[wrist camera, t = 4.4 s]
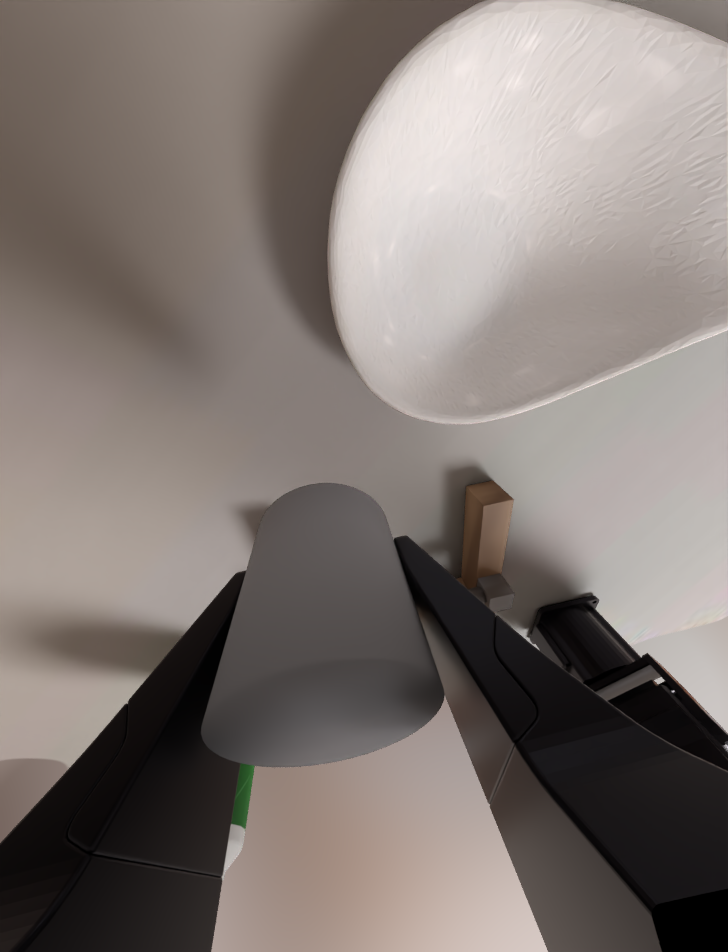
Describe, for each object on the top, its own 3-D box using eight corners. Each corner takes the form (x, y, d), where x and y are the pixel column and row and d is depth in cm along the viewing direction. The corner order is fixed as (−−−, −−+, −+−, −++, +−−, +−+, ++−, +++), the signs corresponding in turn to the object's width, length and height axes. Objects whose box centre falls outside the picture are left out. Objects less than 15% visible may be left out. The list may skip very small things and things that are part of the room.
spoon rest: (348, 421, 16) (366, 485, 10) (295, 114, 10) (254, -230, 4) (715, 354, 17) (938, 373, 11) (868, 45, 11) (1558, -301, 5)
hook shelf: (492, 480, 19) (532, 517, 16) (480, 593, 26) (506, 637, 22) (270, 527, 19) (258, 577, 15) (316, 631, 25) (315, 682, 22)
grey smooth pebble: (379, 470, 8) (445, 631, 4) (393, 566, 11) (444, 734, 6) (236, 499, 8) (144, 702, 4) (281, 591, 10) (256, 782, 6)
